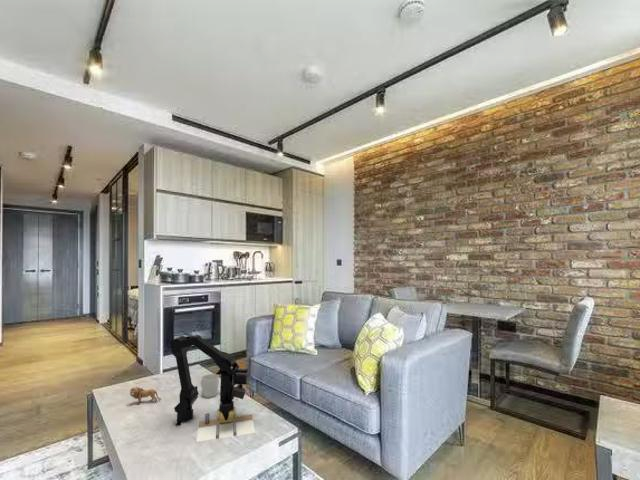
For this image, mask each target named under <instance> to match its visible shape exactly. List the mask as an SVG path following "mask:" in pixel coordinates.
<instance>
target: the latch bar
mask: <svg viewBox="0 0 640 480" xmlns="http://www.w3.org/2000/svg"><path fill="white" fill-rule="evenodd" d="M235 417H236V406H234V410H230V412H229V416H228V420H225V419H224V416H223V414H222V412H220V411H219V408H218V409H217V418H216V419H217V424H218V423H225V422H232V421H235Z"/></svg>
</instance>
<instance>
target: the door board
mask: <svg viewBox="0 0 640 480" xmlns="http://www.w3.org/2000/svg"><path fill="white" fill-rule="evenodd" d="M210 418H211V417H210V413H205V414H204V420H203V421H199V422H198V428H197V429H198V430H197V434H196V441H195V442H196V443H200V442H206V441H213V440H219V439H225V438H232V437H237V436H238V437H239V436H243V435H244V436H245V435H249V434H256V432H255V426H254V425H255V424H254V423H255V422H254V417H253V414H251V413H250V414H244V415H239V416H237V415H235V421H232V422H225V423H218V424H217V418H216V419H210Z"/></svg>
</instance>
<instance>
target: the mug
mask: <svg viewBox="0 0 640 480" xmlns="http://www.w3.org/2000/svg"><path fill="white" fill-rule="evenodd" d="M219 376H220V375H217V374H216V373H210V374H205V375H204V376H202V378H201V381H200V385H201V392H202V396H203V397H204V398H209V399H210V398H213V397H216V395H217V394H218V390H219V386H220V385H219V381H220V380H219V379H220V377H219Z"/></svg>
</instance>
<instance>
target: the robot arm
mask: <svg viewBox="0 0 640 480" xmlns="http://www.w3.org/2000/svg"><path fill="white" fill-rule="evenodd" d="M168 345H169V349H170V353H171V354H172V355H173V356H174V358H175V361H176V367H177V373H178V377H179V383H180V392H179V402H178V403H177V405H175V406H174V407H173V408H174V412H175V413H176V423H175V425H176V426H181V425H182V423H186V422H188V421H191V420H193V419H194V409H193V405H194V404H195V402H196V401H197V399H198V397H199V395H200V393H199V391H198V385H196V386H195V385H194V384H193V381H192V377H191V372H190V371H191V370H190V366H189V361H188V360H189V359H188V356H187V355H188V349H189V347H192V346H194V347H196V349H198V350H200V351H201V352H202V353H203V354H205V355H206V356H208V358H211V359H212V360H213V361H214V363H215V365H216V366H217V368H219V370H218V371H217V372H215V374H216V375H218V376H220V386H221V387H220V386H219V389H220V390H219V408H218V409H219V411H220V412H222V414H223V416H224V419H225V420H228V416H229V412H230V410H234V407H235V404H234V403H235V402H233V401H232V400H233V399H234V397H237V399H241V400H244V398H245V396H246V389H245V388H244V387H243V385H246V386H247V385H249V384H250V379H251V374H250V371H249V368H240V366H239V364H238V363H237V362H236V359H235V356H234V355H232V354H231V353H228V352H225V351H221V350H219V349H218V348H217V347H216V346H214V345H213V344H211V343H210V342H208V341H207V340H205V338H203V337H202V336H201V335H199V334H195V335H188V336H184V335H180V336H177V337H176V338H173V339H172V340H171V341H170V342H169V344H168ZM233 382H234V383H235V384H237V386H236V387H234V384H233Z"/></svg>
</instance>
